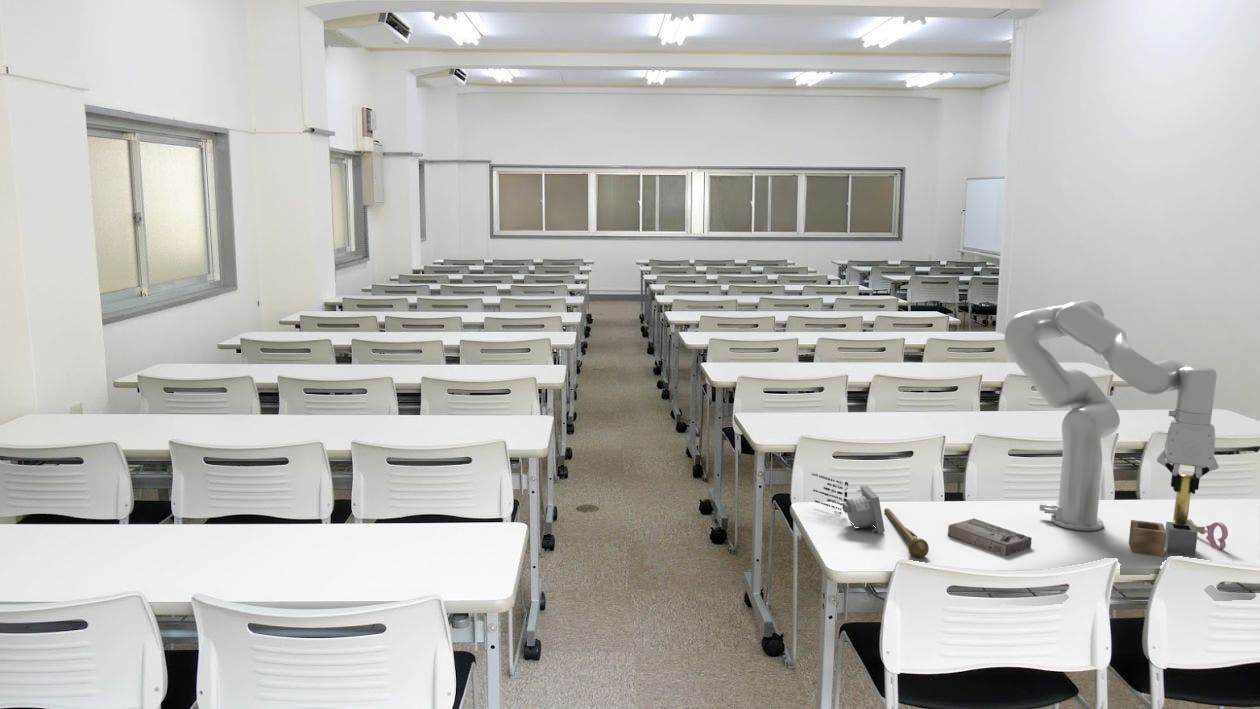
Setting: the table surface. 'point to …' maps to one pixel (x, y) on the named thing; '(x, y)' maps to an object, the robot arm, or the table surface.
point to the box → (989, 536)
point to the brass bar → (1183, 499)
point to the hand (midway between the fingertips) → (1183, 490)
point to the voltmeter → (859, 507)
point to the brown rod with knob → (910, 537)
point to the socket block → (1180, 539)
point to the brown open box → (1147, 538)
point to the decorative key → (1212, 533)
